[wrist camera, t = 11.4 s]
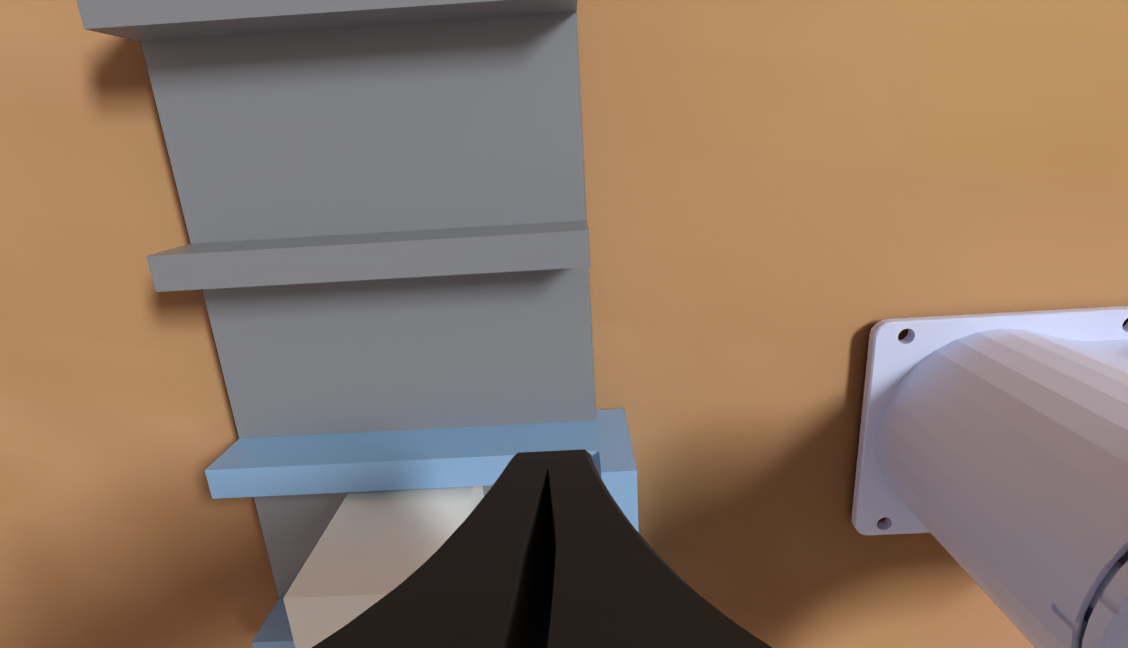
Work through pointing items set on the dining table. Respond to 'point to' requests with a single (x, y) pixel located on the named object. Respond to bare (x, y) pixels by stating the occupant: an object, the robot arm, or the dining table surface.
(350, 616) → the block
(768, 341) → the dining table surface
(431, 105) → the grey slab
